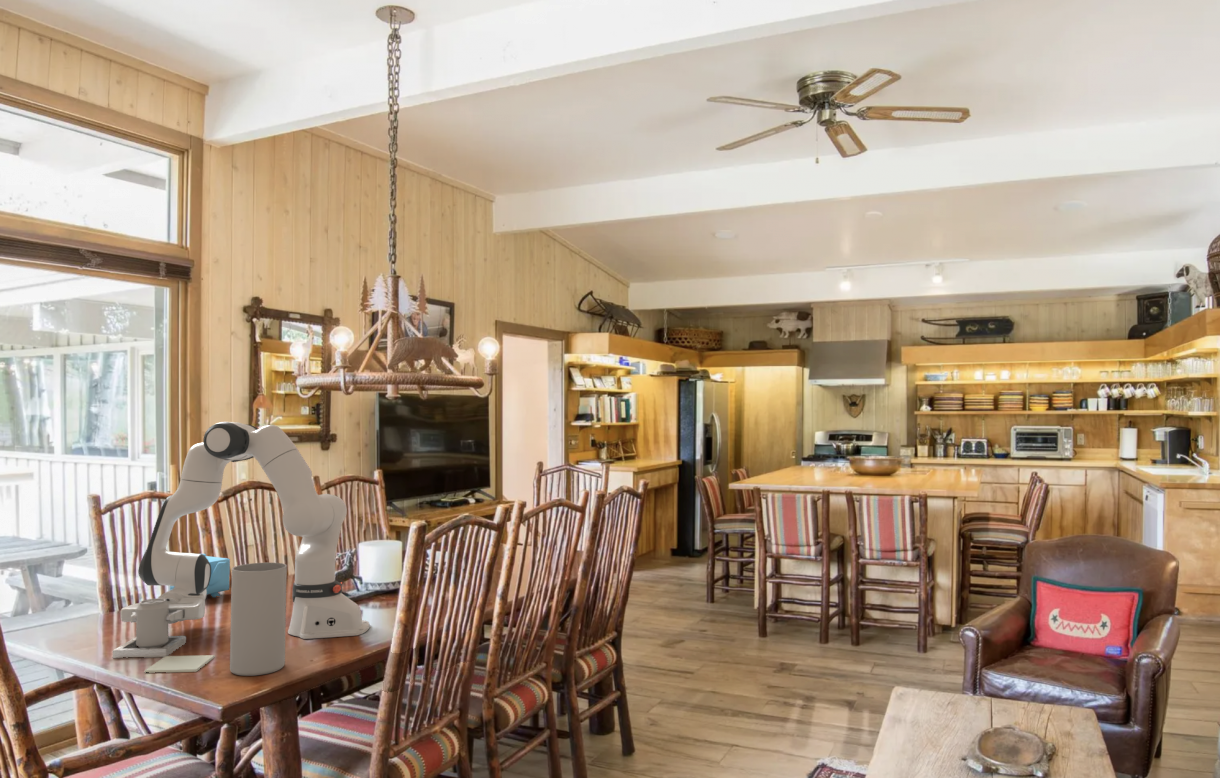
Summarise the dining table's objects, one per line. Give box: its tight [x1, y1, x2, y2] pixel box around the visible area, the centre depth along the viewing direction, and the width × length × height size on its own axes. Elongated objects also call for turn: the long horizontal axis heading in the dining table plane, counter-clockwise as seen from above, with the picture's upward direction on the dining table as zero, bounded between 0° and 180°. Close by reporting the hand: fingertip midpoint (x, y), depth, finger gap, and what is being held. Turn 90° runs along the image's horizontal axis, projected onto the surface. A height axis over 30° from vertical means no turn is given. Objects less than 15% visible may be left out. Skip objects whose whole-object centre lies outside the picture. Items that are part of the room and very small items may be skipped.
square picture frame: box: [112, 635, 187, 659], centre depth 221 cm, size 13×13×2 cm
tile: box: [144, 654, 215, 674], centre depth 208 cm, size 12×12×1 cm
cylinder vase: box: [229, 562, 288, 677], centre depth 206 cm, size 12×12×25 cm
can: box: [135, 597, 169, 648], centre depth 221 cm, size 8×8×12 cm
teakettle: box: [169, 553, 231, 598], centre depth 285 cm, size 19×19×15 cm
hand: (151, 618), depth 220 cm, fingers closed on can, 7 cm apart
